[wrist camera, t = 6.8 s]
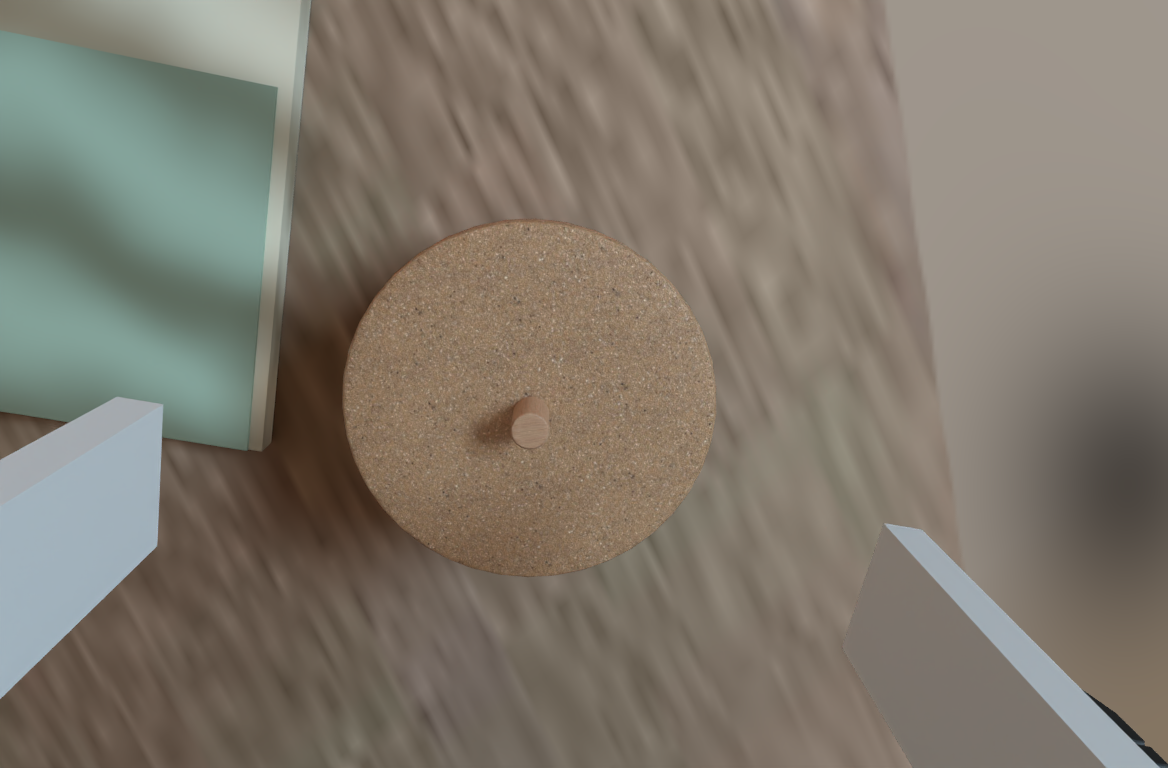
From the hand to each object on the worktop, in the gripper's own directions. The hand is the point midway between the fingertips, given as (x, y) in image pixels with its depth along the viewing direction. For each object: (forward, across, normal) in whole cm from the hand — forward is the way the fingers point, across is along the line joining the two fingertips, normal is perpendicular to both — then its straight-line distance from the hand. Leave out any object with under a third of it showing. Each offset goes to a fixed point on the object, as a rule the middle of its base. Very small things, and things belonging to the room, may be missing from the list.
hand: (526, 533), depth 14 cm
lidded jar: (+16, 0, 0) cm, 16 cm away
